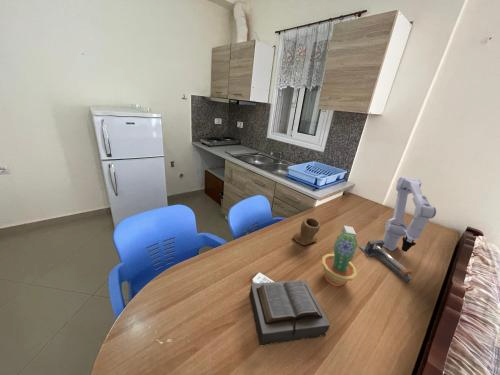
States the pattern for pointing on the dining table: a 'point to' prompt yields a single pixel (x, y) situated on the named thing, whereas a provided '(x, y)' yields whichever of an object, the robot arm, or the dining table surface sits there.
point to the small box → (348, 230)
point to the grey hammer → (382, 257)
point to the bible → (286, 312)
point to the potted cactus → (341, 260)
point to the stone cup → (308, 231)
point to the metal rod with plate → (394, 262)
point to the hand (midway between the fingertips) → (405, 247)
